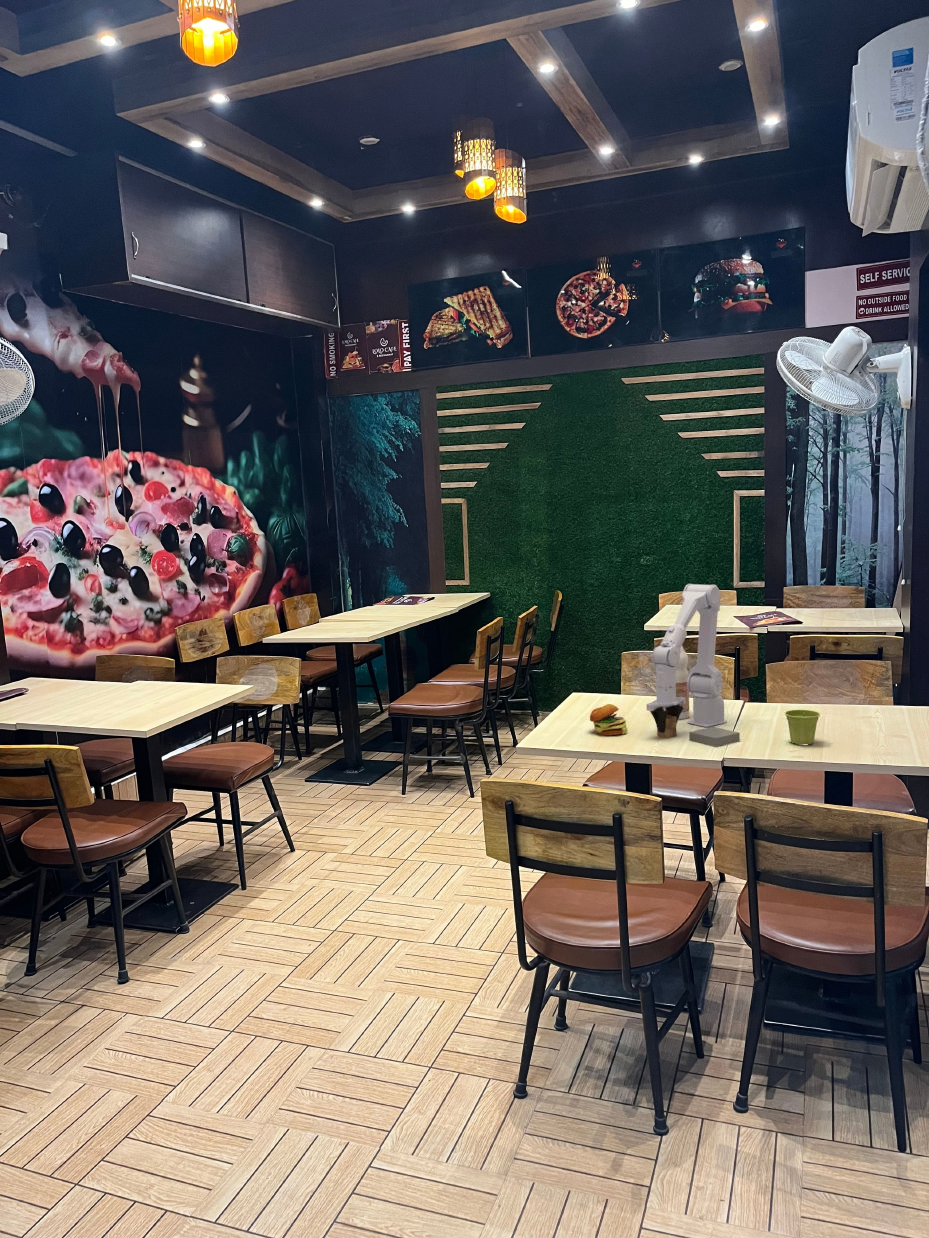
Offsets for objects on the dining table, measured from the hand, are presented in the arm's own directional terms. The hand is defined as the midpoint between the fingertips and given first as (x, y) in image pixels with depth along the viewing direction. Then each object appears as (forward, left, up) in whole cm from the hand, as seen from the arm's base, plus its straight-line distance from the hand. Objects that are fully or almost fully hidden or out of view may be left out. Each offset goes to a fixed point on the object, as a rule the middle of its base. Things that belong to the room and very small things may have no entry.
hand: (666, 730), depth 269 cm
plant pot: (-22, +31, -2) cm, 38 cm away
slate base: (-6, +13, -2) cm, 14 cm away
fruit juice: (-20, -16, -2) cm, 26 cm away
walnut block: (0, 0, -2) cm, 2 cm away
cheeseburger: (+10, -15, -2) cm, 18 cm away
